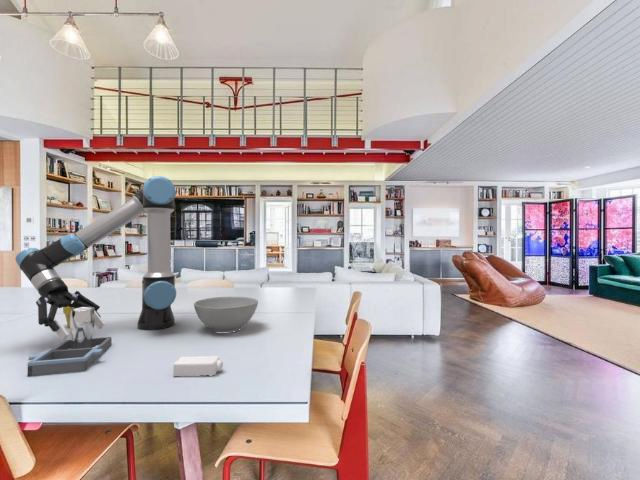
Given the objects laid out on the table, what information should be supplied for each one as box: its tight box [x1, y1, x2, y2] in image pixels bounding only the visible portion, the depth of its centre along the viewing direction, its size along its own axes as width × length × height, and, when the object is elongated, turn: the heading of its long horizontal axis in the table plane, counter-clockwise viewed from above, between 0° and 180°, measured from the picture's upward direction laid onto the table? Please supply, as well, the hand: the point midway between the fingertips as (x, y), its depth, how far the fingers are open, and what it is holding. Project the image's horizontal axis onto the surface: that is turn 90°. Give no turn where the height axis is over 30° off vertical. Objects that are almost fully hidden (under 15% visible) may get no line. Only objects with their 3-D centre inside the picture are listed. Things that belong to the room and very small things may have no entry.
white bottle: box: [172, 355, 224, 377], centre depth 96 cm, size 6×13×4 cm, turn 93°
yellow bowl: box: [62, 302, 74, 329], centre depth 145 cm, size 10×10×10 cm
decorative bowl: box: [193, 296, 259, 333], centre depth 143 cm, size 27×27×12 cm
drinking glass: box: [69, 307, 96, 349], centre depth 112 cm, size 7×7×15 cm
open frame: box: [26, 336, 113, 377], centre depth 106 cm, size 18×25×4 cm
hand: (84, 331), depth 111 cm, fingers open, 13 cm apart
